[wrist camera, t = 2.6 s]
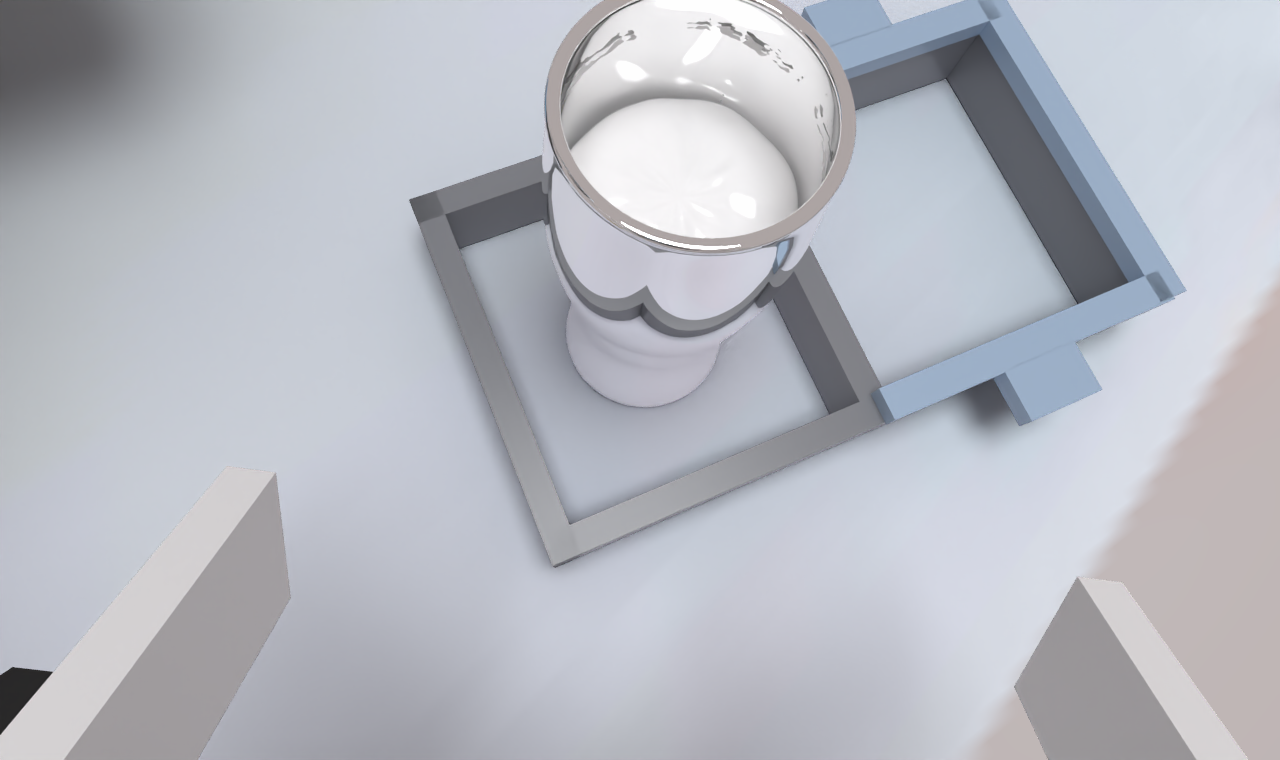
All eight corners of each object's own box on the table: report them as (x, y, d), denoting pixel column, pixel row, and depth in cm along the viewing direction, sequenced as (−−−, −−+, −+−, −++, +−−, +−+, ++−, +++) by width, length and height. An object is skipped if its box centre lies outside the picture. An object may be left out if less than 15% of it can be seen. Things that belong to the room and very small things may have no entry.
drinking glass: (764, 360, 30) (933, 159, 16) (616, 453, 29) (654, 326, 15) (667, 222, 32) (743, -81, 17) (521, 305, 30) (469, 51, 16)
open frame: (408, 193, 31) (385, 141, 27) (935, 17, 35) (977, -48, 32) (576, 620, 27) (575, 626, 24) (1142, 366, 32) (1216, 338, 28)
